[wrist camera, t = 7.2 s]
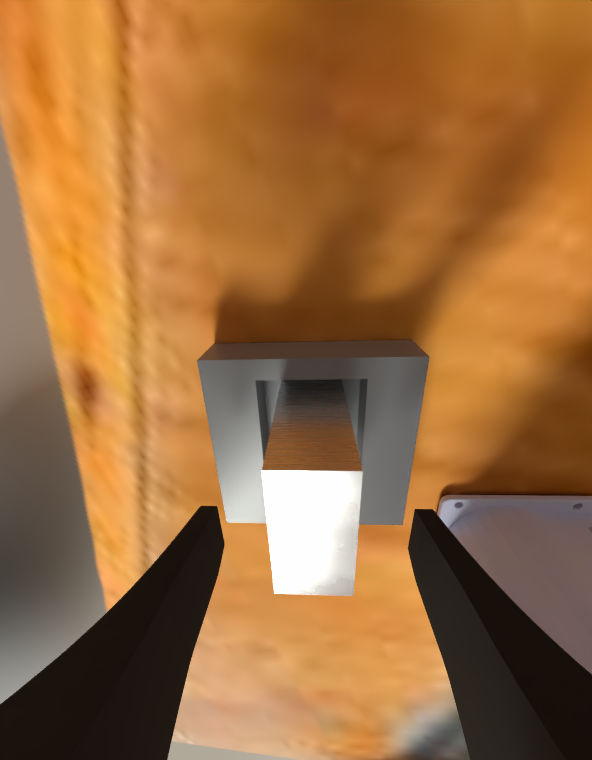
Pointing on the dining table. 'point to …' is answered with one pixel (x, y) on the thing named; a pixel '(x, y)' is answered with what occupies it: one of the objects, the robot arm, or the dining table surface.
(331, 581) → the long block
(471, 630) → the robot arm
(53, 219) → the dining table surface
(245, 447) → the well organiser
